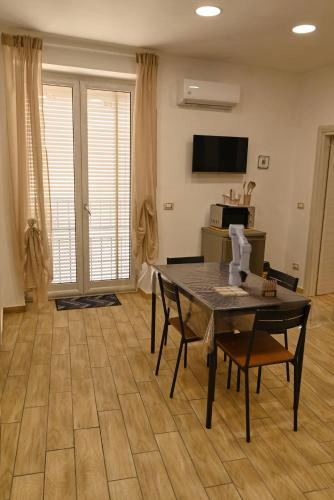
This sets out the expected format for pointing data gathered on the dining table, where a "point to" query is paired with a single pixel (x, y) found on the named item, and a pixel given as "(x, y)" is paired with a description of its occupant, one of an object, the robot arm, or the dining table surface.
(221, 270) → the dining table surface
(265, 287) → the ammunition clip
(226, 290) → the laid oak boards
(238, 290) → the ash plank
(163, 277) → the dining table surface
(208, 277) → the dining table surface
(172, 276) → the dining table surface
